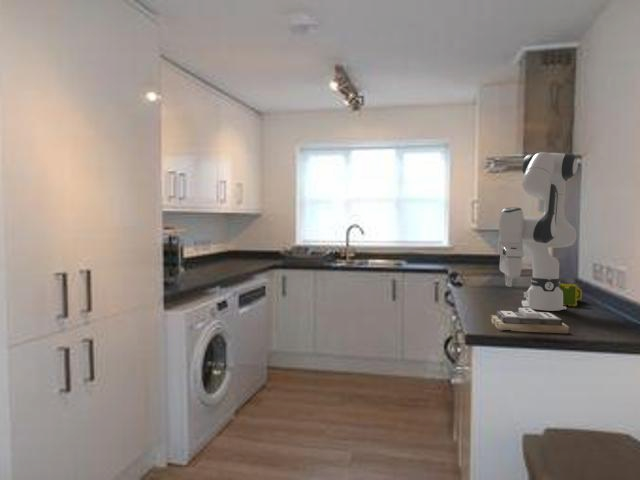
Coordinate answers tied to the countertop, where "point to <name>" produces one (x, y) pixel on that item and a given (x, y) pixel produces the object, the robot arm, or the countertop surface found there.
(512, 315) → the key one
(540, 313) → the key three
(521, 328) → the key panel
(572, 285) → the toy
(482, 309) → the countertop surface
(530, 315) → the key two
